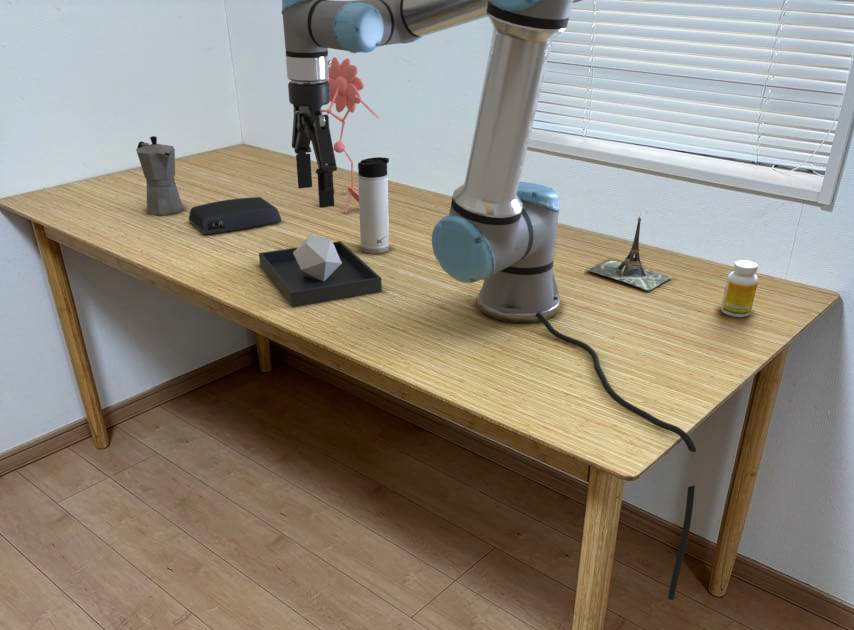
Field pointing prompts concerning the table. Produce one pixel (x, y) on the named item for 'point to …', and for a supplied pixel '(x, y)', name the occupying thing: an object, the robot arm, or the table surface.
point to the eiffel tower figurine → (632, 269)
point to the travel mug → (373, 205)
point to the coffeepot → (159, 177)
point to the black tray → (304, 290)
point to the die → (317, 257)
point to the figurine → (344, 102)
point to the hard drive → (233, 215)
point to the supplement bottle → (740, 289)
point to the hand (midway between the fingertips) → (315, 196)
